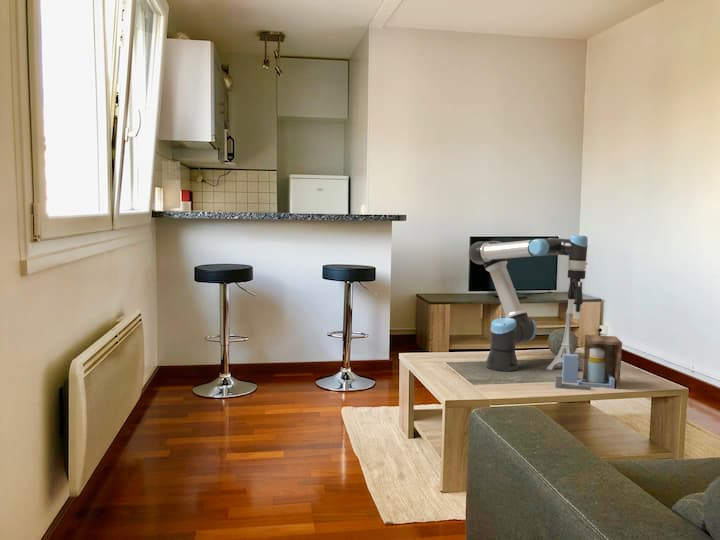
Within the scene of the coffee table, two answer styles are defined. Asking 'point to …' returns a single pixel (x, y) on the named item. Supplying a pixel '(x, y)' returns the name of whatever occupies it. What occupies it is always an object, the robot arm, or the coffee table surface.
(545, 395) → the coffee table surface
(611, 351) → the cubby
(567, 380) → the pale blue bracket stand
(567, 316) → the eiffel tower
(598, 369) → the bottle
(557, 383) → the grey long bar
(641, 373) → the coffee table surface
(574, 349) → the decorative sphere
